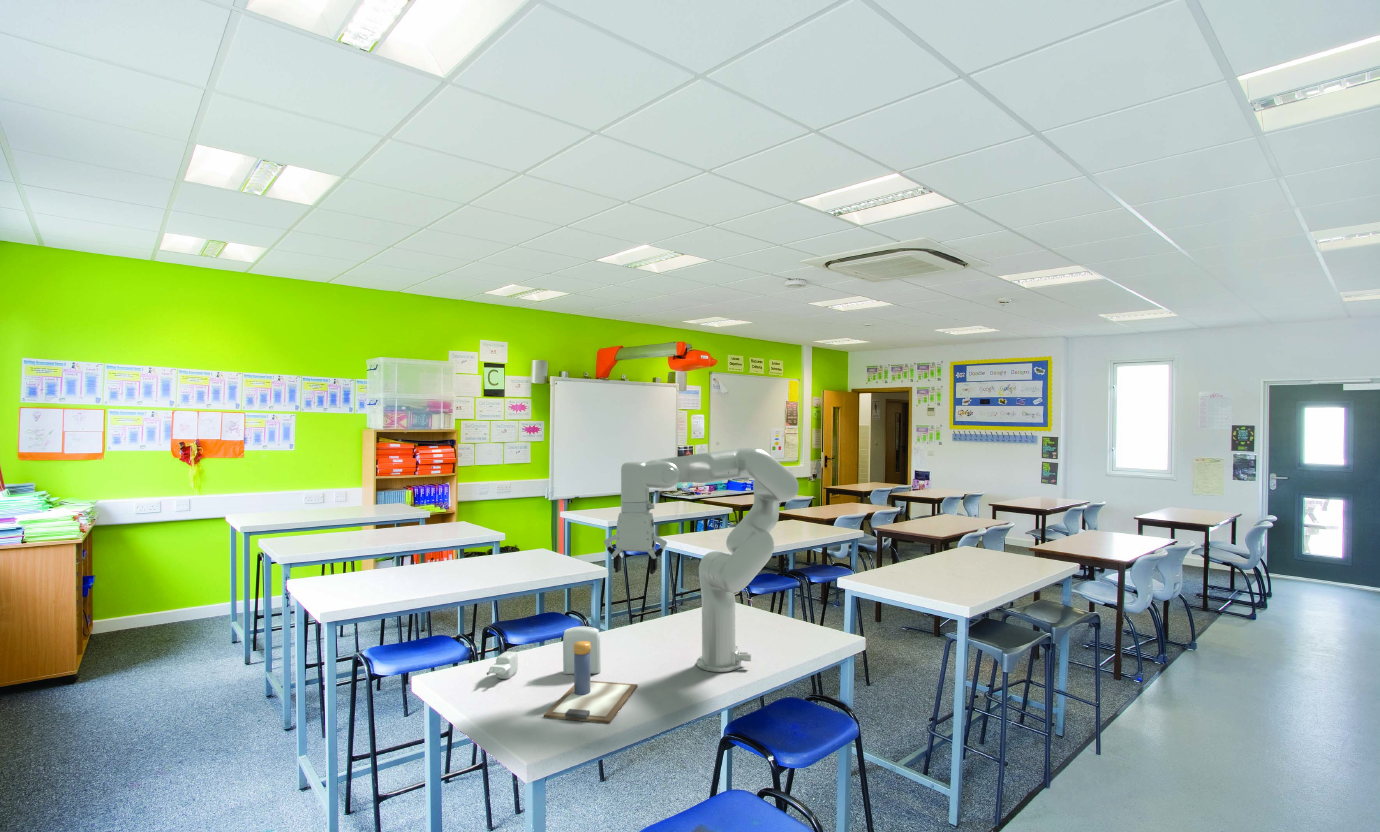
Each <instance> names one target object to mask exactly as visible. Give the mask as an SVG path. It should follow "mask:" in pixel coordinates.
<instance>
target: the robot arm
mask: <svg viewBox="0 0 1380 832" xmlns="http://www.w3.org/2000/svg"><path fill="white" fill-rule="evenodd" d="M743 478H748V479H753V483H752V488H753V495H754V496H753V503H752V507H751V508H750V510H749V511H748V512H747V514H746V515H745V516H743V518H742V519H741V520H740V521H739V522H738V523H737V525H736V526H735V527H734V528H733V529H732V530H731V531H730V533H729V534H728V536H727V537H726V540H725V541H726V542H725V543H726V544H725V545H726V548H727V550H728V551H729V553H730V554H729V553H726V552H722V551H718V550H717V551H715V550H714V551H710V552H707V553H706V554H705V555H704V556H703V557H702V558H701V560H700V562H699V565H698V577H699V583H700V584H699V585H700V591H701V655H700V656H699V657H698V658H697V659H696V665H697V667H698V668H699V669H701V670H703V671H707V672H713V673H724V672H731V671H734V670H737V669H739V668H740V667H741V666H742V662H743V661H744V662H750V663H751V661H752V654H751V653H750V654H749V652H748V651H740V650H739V647H738V646H736V595H735V593H739V592H741V591H743V590H744V589H746V587H747V586H748V585H749V584H750V583H752V581H753V580H754V578H755V577H756V576H758V573H760V572H761V571H762V569H763V568H764V567H765V566H766V564H767V563H768V562H769V560H771V557H772V556H773V553H774V548H775V541H774V538H773V536H772V535H771V531H772V530H773V529H774V528H775V526H776V525H777V523H778V520H779V516H780V502H781V503H785V502H787V503H788V502H789V501H792V500H794V499H795V498H796V497H797V495H798V493H799V481H798V479H797V478H796V476H795V475H794V474H793V473H792V472H791V471H790V470H789V469H788V468H786V467H785V466H784V465H782V464H781V463H780V462H779V461H777V459H775V458H774V457H773V456H772V455H770V454H769V453H768V452H766V451H765V450H762V449H760V448H752V447H751V448H748V447H747V448H746V447H741V448H733V449H725V450H718V451H717V450H716V451H712V452H711V451H710V452H709V451H708V452H702V453H696V454H690V455H683V456H682V455H681V456H673V457H666V458H657V459H651V460H649V461H647V462H642V461H629V462H624V463H622V465H621V467H620V500H621V502H620V504H621V505H620V507H621V508H620V512H619V513H618V516H617V522H616V531H615V534H613V535H612V536H610V537H608V538H606V539H605V540H603V544H604V545H605V547H606V548H607V552H608V553H609V554H610V555H611V557H612V558H613V569H614V572H615V573H619V572H620V571H622V556H621V555H620V554H621V553H622V552H623V551H624V552H647V553H648V554H649V555H650V557H651V558H649V574H650V575H654V574H655V573H656V571H657V570H658V557H659V556H660V555H661V554H662V553H663V552H664V550H665V549H666V546H667V544H668V542H667V541H666V540H665V539H663V538H661V537H659V536H657V535H656V527H655V521H654V515H653V512H650V511H651V510H655V504H654V503H651V502H650V489H652V488H653V489H662V490H668V489H670V488H673V487H674V486H676V485H677V483H693V484H694V483H697V484H709V483H715V482H722V481H729V480H736V479H743ZM614 541H615V547H614V546H613V545H612V542H614ZM656 543H657V544H659V548H658V549H656V548H655V547H656Z"/></svg>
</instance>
